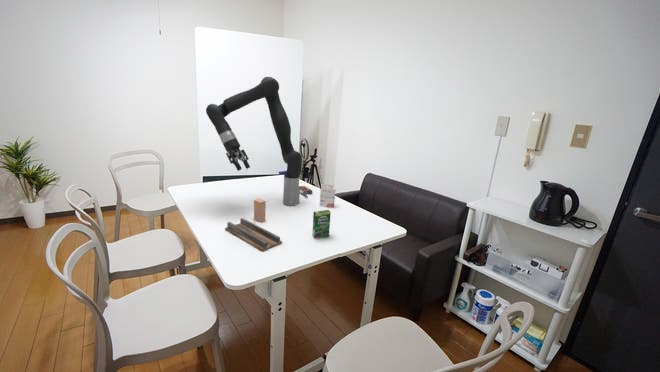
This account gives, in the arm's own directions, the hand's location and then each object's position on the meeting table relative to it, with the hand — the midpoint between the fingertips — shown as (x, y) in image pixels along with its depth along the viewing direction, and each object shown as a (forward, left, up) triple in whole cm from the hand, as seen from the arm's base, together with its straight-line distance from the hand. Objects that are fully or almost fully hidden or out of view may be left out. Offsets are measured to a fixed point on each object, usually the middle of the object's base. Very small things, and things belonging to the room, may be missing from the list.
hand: (244, 169), depth 151 cm
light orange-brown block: (-1, +11, -25) cm, 28 cm away
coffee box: (-11, +45, -26) cm, 53 cm away
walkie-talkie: (-53, -5, -26) cm, 60 cm away
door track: (+13, +24, -25) cm, 37 cm away
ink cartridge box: (-46, +20, -26) cm, 57 cm away
